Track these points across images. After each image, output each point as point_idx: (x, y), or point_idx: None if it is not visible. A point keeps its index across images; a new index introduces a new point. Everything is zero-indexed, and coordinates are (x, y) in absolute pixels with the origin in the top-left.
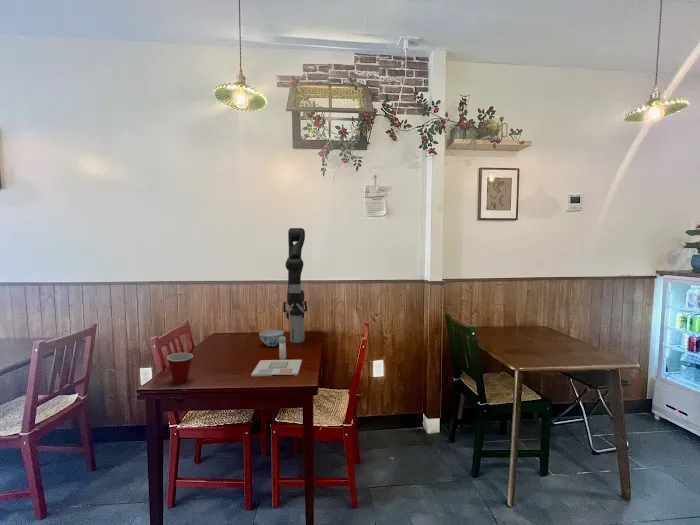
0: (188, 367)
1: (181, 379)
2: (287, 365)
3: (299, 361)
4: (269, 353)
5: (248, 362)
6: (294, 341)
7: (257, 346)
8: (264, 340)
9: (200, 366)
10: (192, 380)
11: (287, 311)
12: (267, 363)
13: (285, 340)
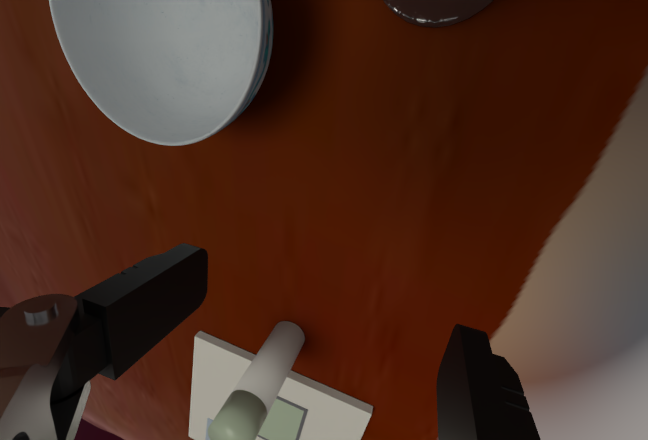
0: None
1: None
2: (301, 437)
3: (355, 428)
4: (224, 228)
5: None
6: (401, 15)
7: None
8: (144, 104)
9: (21, 276)
10: None
11: (52, 409)
12: (225, 380)
13: (258, 431)
